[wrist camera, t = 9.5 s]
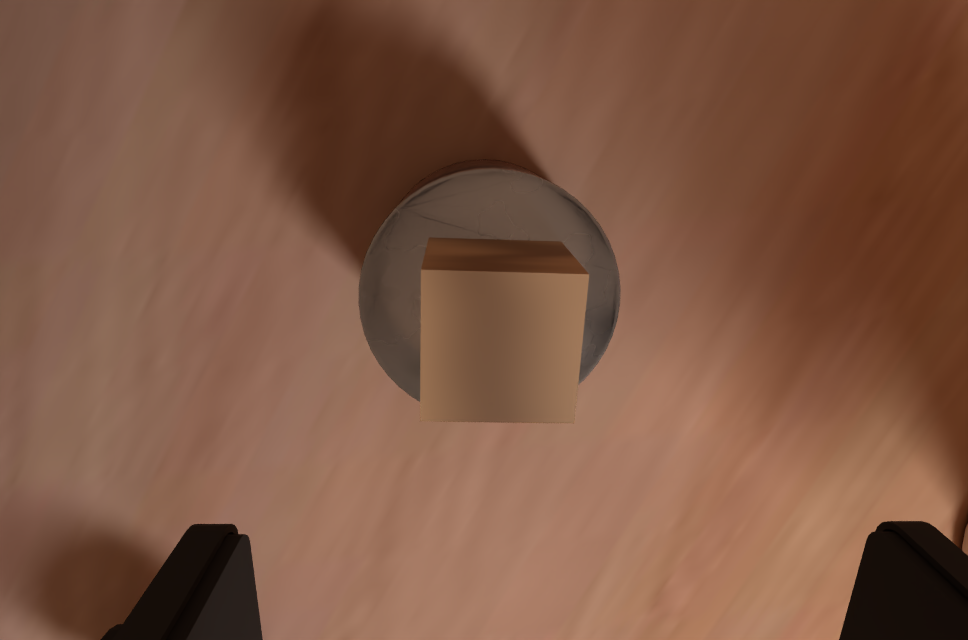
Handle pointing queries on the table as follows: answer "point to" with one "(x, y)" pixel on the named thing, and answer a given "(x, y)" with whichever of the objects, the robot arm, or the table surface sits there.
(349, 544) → the table surface
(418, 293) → the black tin
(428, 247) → the walnut block
